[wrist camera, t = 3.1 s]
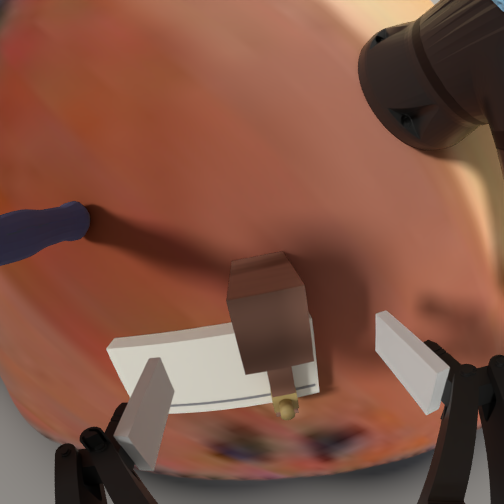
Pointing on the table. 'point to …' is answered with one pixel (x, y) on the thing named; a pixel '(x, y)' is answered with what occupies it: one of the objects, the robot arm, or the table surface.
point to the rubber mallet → (40, 230)
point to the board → (203, 368)
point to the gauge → (271, 323)
